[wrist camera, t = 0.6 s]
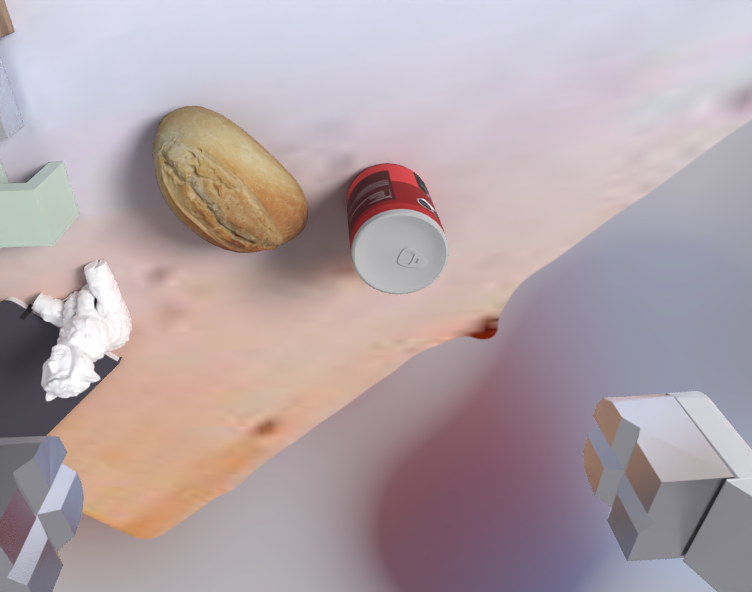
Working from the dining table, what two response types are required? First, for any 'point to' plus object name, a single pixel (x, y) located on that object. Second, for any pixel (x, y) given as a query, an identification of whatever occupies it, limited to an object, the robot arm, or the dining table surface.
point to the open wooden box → (5, 20)
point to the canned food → (394, 230)
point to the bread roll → (225, 182)
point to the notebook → (32, 372)
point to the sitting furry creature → (83, 331)
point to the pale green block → (36, 208)
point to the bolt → (8, 108)
